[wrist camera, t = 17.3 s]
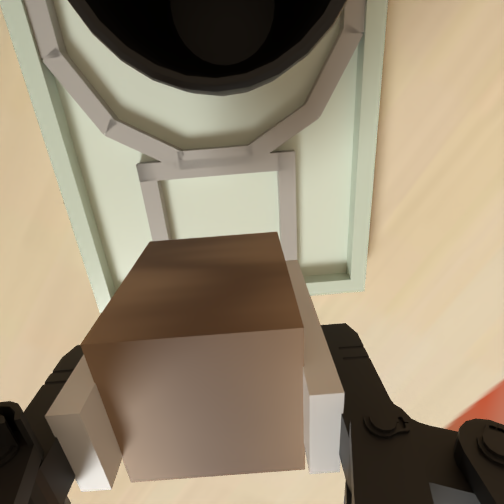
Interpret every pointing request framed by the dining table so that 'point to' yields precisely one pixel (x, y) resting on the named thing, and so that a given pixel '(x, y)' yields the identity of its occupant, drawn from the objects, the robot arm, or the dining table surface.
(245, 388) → the block
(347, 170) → the tray
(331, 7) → the mug
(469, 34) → the dining table surface
